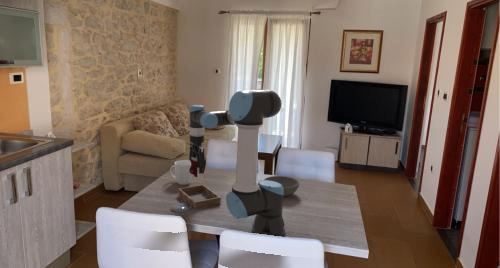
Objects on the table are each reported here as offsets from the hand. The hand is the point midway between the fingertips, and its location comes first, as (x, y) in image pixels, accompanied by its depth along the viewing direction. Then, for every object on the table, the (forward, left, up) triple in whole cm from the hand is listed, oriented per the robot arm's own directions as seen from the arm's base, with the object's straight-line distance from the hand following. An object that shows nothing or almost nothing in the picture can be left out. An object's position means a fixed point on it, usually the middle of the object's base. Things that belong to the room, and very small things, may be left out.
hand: (196, 176), depth 191 cm
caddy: (+1, -2, -14) cm, 14 cm away
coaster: (-5, +11, -14) cm, 18 cm away
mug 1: (+30, -4, -14) cm, 33 cm away
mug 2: (0, 0, 0) cm, 0 cm away
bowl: (-13, -47, -14) cm, 51 cm away
